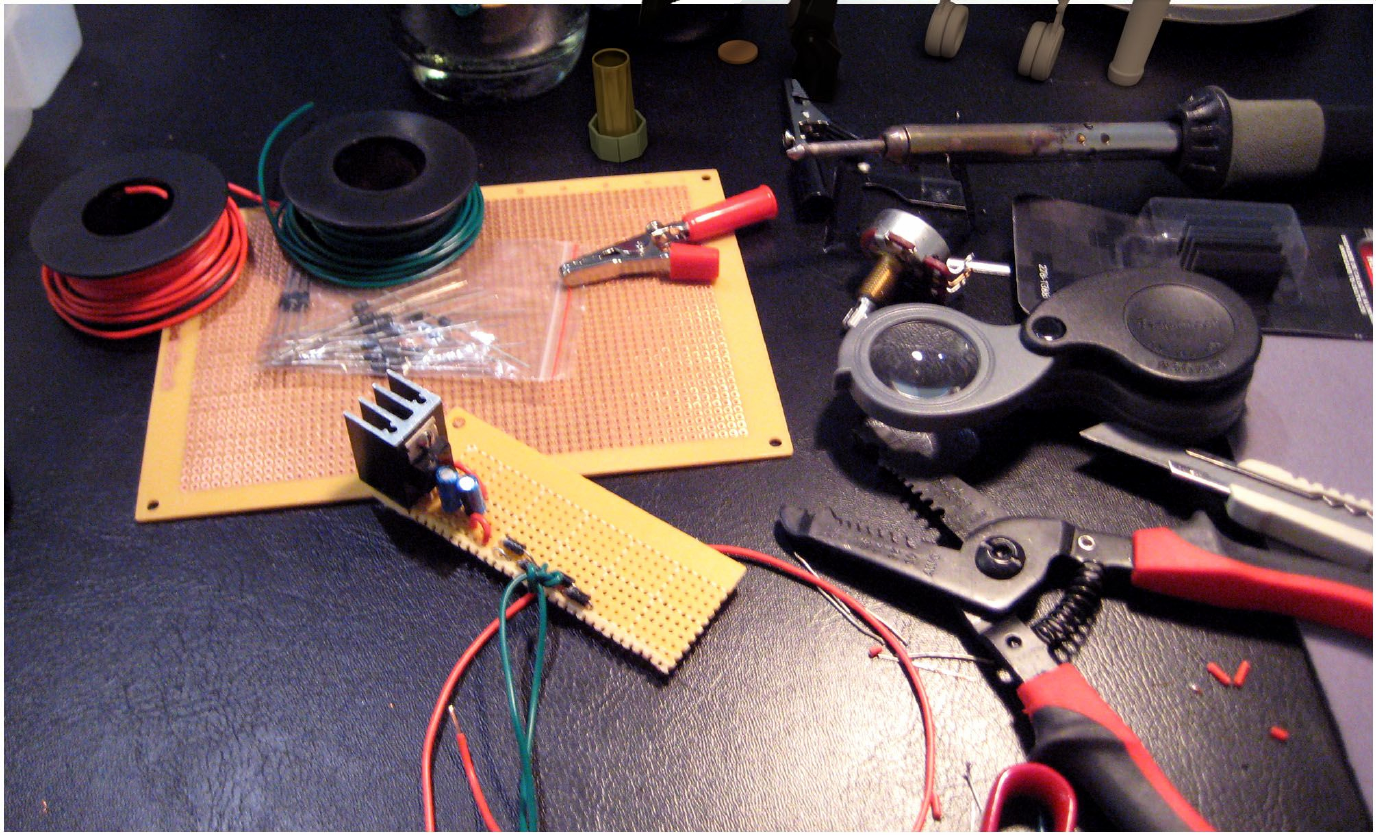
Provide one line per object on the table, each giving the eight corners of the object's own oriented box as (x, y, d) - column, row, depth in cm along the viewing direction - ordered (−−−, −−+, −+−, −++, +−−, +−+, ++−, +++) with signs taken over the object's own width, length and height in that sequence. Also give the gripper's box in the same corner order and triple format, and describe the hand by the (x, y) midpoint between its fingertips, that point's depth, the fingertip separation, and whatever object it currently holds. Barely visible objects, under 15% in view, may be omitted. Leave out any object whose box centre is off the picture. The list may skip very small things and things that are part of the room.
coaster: (762, 46, 156) (762, 43, 155) (751, 66, 152) (751, 63, 152) (724, 41, 157) (724, 37, 157) (713, 61, 154) (713, 57, 153)
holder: (653, 135, 141) (652, 112, 138) (634, 165, 136) (632, 142, 133) (604, 126, 142) (602, 103, 139) (584, 156, 138) (581, 133, 135)
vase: (638, 157, 137) (631, 69, 126) (597, 158, 137) (586, 69, 126) (640, 133, 141) (633, 45, 130) (600, 134, 141) (590, 46, 130)
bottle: (1136, 69, 148) (1199, -96, 129) (1143, 87, 145) (1208, -80, 126) (1103, 68, 149) (1160, -96, 129) (1109, 86, 146) (1168, -80, 126)
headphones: (919, 63, 151) (941, -58, 136) (935, 39, 156) (958, -81, 141) (1042, 92, 145) (1079, -32, 130) (1055, 66, 150) (1092, -57, 135)
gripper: (620, -144, 129) (591, -37, 140) (618, -86, 117) (586, 26, 128) (695, -116, 132) (660, -13, 143) (700, -57, 120) (662, 50, 131)
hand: (642, 11), depth 136 cm, fingers open, 9 cm apart
